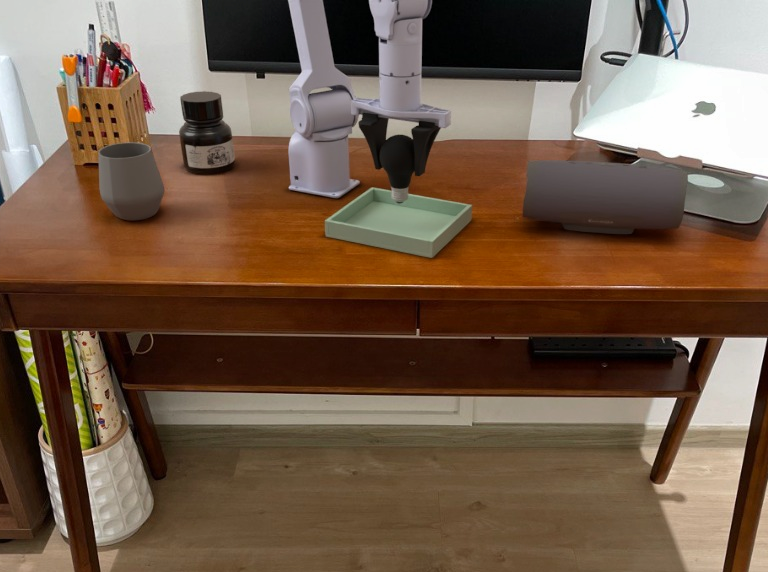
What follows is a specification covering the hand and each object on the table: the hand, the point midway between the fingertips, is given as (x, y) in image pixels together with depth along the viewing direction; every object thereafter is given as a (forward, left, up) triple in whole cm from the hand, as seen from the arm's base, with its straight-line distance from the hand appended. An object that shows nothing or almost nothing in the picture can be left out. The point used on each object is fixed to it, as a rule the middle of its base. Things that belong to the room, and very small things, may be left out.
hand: (400, 170), depth 120 cm
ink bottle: (-42, +10, -9) cm, 44 cm away
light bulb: (0, 0, -5) cm, 5 cm away
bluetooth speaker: (+27, +13, -9) cm, 31 cm away
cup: (-39, -13, -9) cm, 42 cm away
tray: (0, 0, -9) cm, 9 cm away
